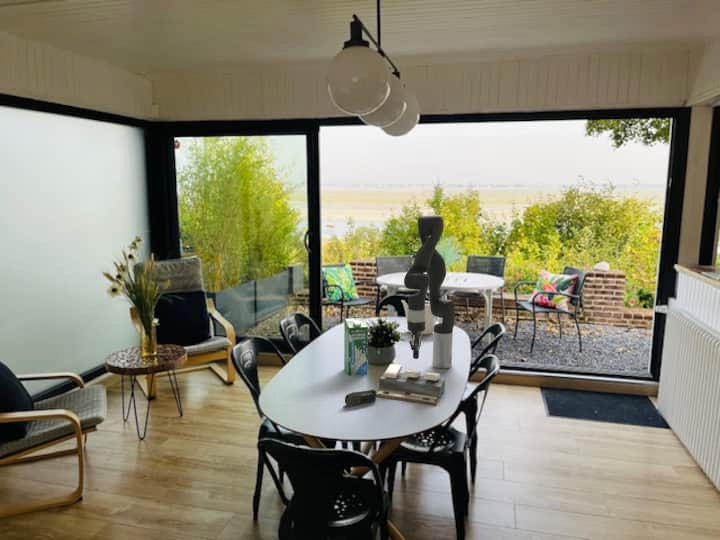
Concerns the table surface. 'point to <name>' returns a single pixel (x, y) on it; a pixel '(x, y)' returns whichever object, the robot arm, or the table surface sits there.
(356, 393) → the mobile phone
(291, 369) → the table surface
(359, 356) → the milk carton
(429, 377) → the cream box
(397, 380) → the switch box
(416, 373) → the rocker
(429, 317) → the watering can
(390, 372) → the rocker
